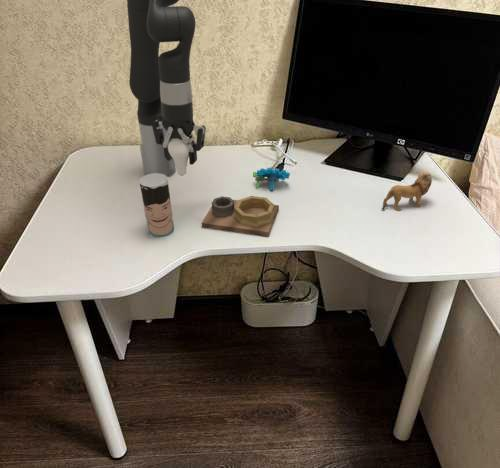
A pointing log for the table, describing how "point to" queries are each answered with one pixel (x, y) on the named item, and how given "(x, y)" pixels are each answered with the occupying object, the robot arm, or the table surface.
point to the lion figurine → (410, 190)
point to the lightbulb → (179, 154)
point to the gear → (270, 176)
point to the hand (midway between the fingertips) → (181, 161)
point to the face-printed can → (157, 204)
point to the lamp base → (242, 215)
